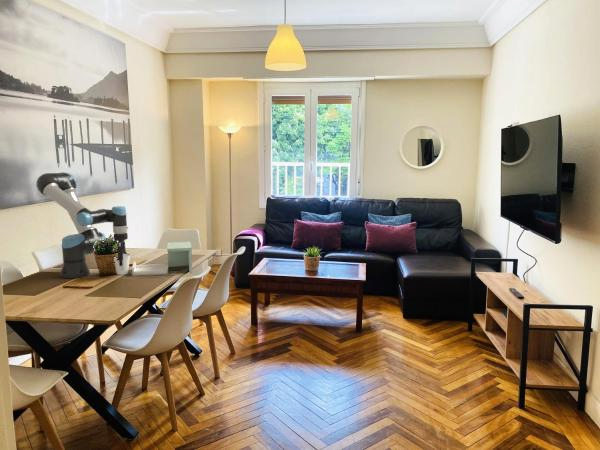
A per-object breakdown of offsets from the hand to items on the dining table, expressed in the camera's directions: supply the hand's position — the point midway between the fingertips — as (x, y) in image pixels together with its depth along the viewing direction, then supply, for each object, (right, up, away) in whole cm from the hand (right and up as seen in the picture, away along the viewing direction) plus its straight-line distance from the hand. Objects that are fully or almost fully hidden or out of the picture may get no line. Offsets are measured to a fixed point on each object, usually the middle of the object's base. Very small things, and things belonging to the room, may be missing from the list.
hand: (122, 268), depth 262 cm
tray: (+15, -3, +6) cm, 16 cm away
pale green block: (+31, -2, +12) cm, 33 cm away
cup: (0, -4, +1) cm, 4 cm away
